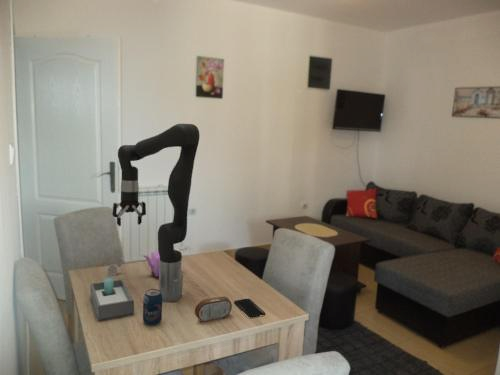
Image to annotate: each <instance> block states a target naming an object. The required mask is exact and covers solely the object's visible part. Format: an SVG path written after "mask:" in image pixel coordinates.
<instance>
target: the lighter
mask: <svg viewBox="0 0 500 375" xmlns="http://www.w3.org/2000/svg"><path fill="white" fill-rule="evenodd" d="M123 261H124V259H123V258H122V257H119V260H118V261H117V263H116V265H115V263H113V264H110V265H109V266H107V277H114V276H117V275H118V268H120V267H121V266H122V264H123Z"/></svg>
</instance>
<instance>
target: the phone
mask: <svg viewBox="0 0 500 375" xmlns="http://www.w3.org/2000/svg"><path fill="white" fill-rule="evenodd" d="M233 304H234V305H235V306H236V307H237V308H238V309H239V310H240V311H241V312H242V311H243V312H244V313H245V314H246V315H247V316H248V317H250V318H249V319H252V318H251V317H256V318H257V317H258V316H260V315H265V316H266V312H265V311H264V310H263V309H262V308H260V306H258V305H257V304H256V302H254V301H253V300H252V299H251V298H244V299H243V298H242V299H238V300H237V299H236V300H234V301H233ZM243 312H242V313H243ZM244 313H243V314H244ZM245 314H244V315H245ZM246 315H245V316H246ZM247 316H246V317H247ZM248 317H247V318H248Z"/></svg>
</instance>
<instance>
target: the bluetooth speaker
mask: <svg viewBox="0 0 500 375" xmlns="http://www.w3.org/2000/svg"><path fill="white" fill-rule="evenodd" d="M232 307H233V304H232V302H231V300H230V299H229V298H228V297H227V296H217V297H212V298H206V299H202V300H200V301H199V302H198V303H197V304H196V306H195V308H194V314H195V317H196V318H197V319H198V320H199V321H200V322H210V321H215V320H221V319H224V318H226V317H228V316H229V315H230V314H231V311H232Z"/></svg>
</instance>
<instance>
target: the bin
mask: <svg viewBox="0 0 500 375" xmlns="http://www.w3.org/2000/svg"><path fill="white" fill-rule="evenodd" d="M90 298H91V299H90V300H91V302H92V306H93V309H94V314H95V316H96V319H97V321H98V322H102V321H109V320H112V319H113V320H114V319H119V318H122V317H123V318H125V317H130V316H134V315H135V314H134V311H135V307H134V306H135V303H134V302H135V300H134V298H133V296H132V294H131V292H130V290H129V289H128V287H127V285H126V283H125V281H124V279H113V295H108V296H104V281H101V282H93V283H90Z"/></svg>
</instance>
